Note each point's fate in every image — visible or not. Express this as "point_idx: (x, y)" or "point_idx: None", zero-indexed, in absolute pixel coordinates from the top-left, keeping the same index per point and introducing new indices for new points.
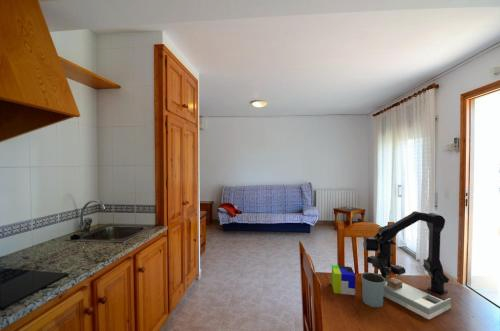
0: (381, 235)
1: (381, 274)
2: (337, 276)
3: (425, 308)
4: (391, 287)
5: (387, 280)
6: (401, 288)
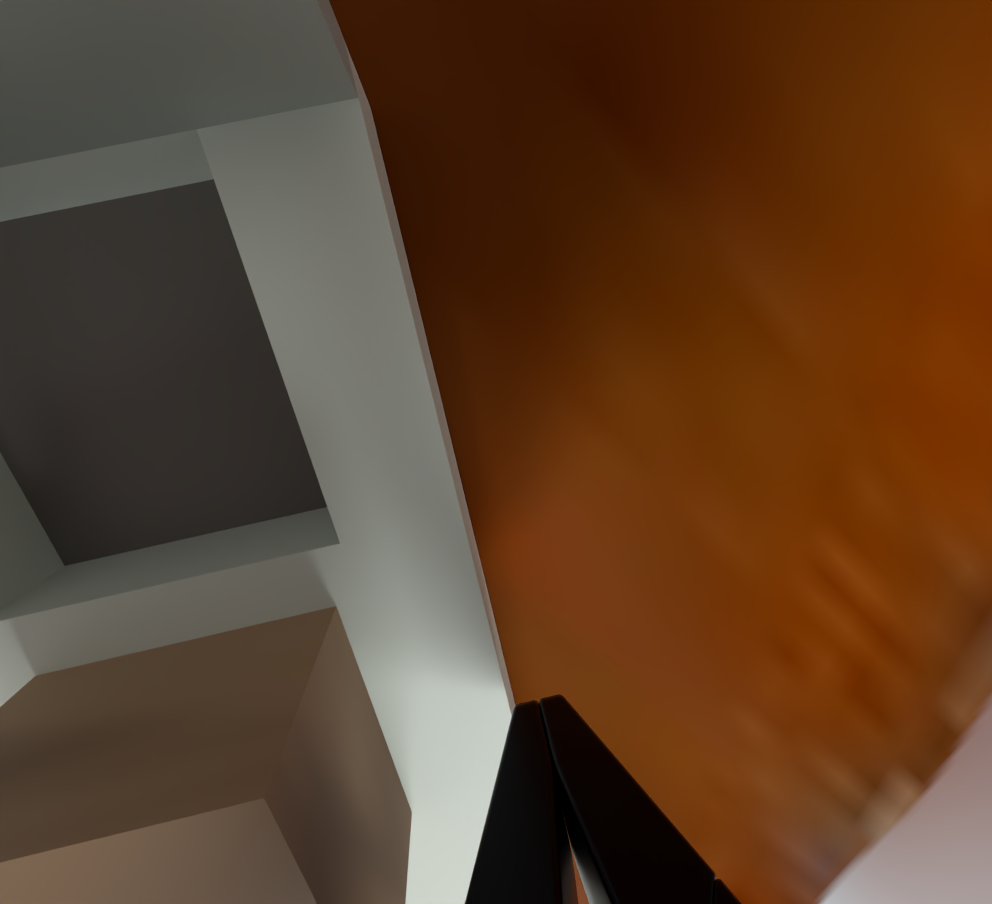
0: None
1: (684, 853)
2: None
3: None
4: (184, 643)
5: (251, 761)
6: None
